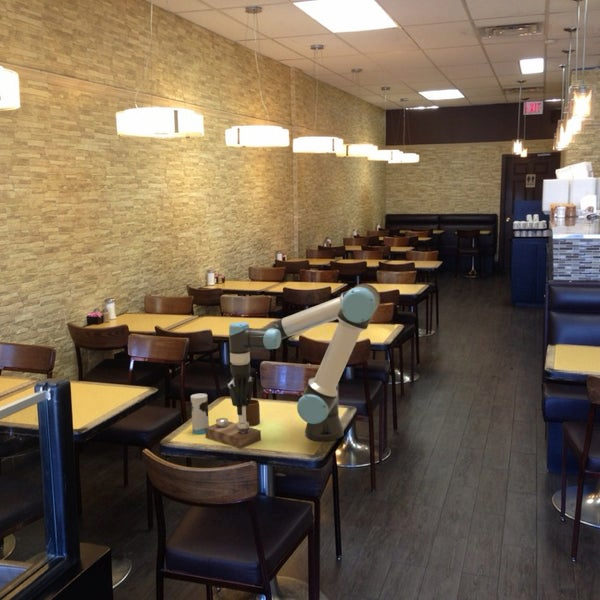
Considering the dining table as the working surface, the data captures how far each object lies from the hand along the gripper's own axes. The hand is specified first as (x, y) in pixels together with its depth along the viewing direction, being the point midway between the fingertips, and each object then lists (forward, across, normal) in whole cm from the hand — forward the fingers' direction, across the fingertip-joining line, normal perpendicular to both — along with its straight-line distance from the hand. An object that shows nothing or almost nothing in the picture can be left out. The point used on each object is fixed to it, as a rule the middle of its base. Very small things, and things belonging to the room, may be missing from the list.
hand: (242, 422), depth 258 cm
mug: (+8, -15, -13) cm, 21 cm away
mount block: (+8, 0, -6) cm, 10 cm away
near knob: (+6, 0, 0) cm, 6 cm away
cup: (+8, +2, -23) cm, 24 cm away
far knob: (+7, 0, -12) cm, 14 cm away
